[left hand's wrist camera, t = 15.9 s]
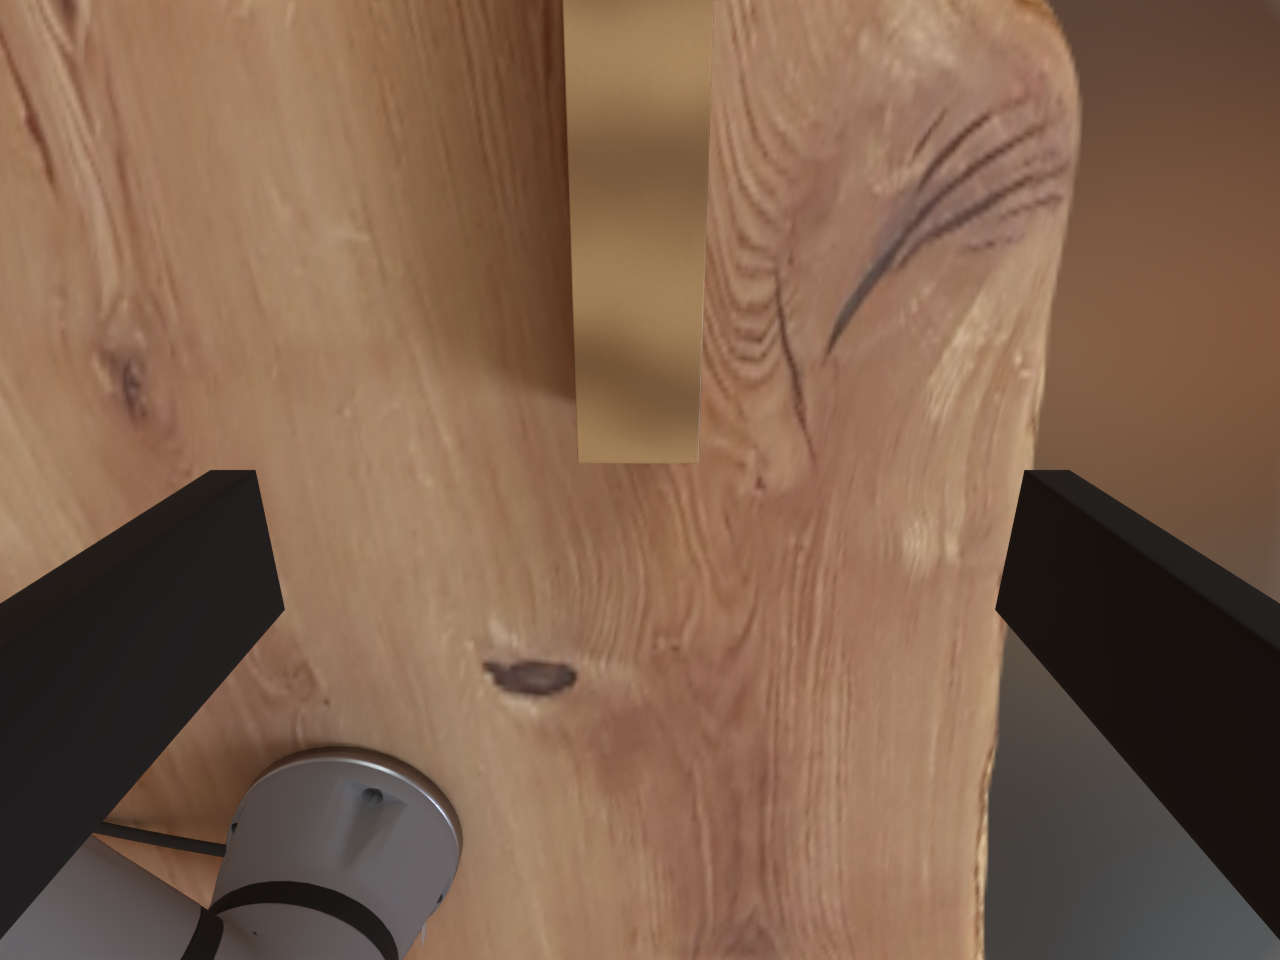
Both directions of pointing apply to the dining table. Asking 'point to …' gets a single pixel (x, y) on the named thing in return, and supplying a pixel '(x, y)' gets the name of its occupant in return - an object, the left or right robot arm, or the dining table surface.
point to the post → (638, 222)
